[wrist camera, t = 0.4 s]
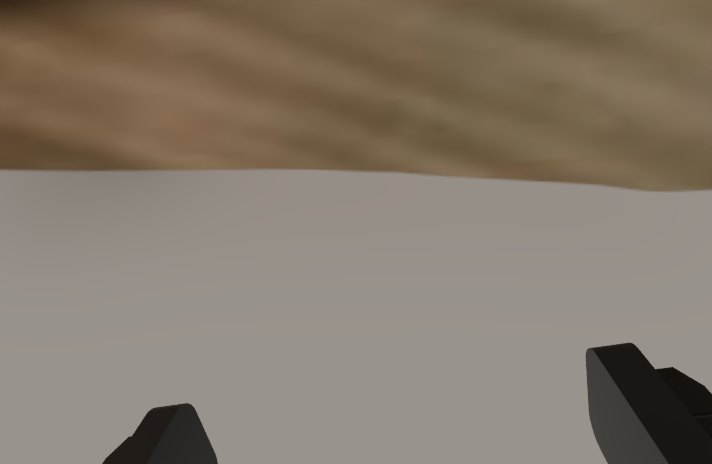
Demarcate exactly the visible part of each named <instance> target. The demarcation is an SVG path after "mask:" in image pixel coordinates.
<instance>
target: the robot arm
mask: <svg viewBox="0 0 712 464" xmlns="http://www.w3.org/2000/svg"><path fill="white" fill-rule="evenodd" d="M586 369H587V386H588V403H589V415H590V420H591V424H592V428H593V431H594V435H595V438H596V440H597V443H598V445H599V447H600V449H601V451H602V453H603V455H604V457H605V459H606V461H607V462H608V464H712V394H711V393H710V392H709V391H708V390H707V388H706V387H705V386H704V385H702V384H700V383H698V382H697V381H695V380H693V379H692V378H690V377H688V376H687V375H685V374H683V373H682V372H680V371H678V370H677V369H675V368H673V367H671V368H663V369H654V367H653V366H652V365H651V364H650V363H649V361H648V360H647V359H646V358H645V356H644V355H643V354H642V353H641V351H640V350H639V349H638V348H637V347H636V346H635V345H634V344H632V343H624V344H617V345H610V346H602V347H595V348H589V349H587V352H586ZM103 464H218V463H217V458H216V455H215V452H214V450H213V448H212V446H211V443H210V441H209V439H208V437H207V435H206V432H205V430H204V428H203V426H202V423H201V421H200V419H199V417H198V415H197V412H196V410H195V408H194V407H193V406H192V405H191V404H187V403H186V404H178V405H171V406H164V407H157V408H153V409H151V410H150V411H149V412H148V413H147V414H146V416H145V417H144V419H143V420H142V422H141V424H140V425H139V426H138V428H137V430H136V431H135V433H134V434H133V436H132V437H128V438H127V439H126V440H125V441H124V442H123V443H122V444H121V445H120V446H119V447H118V448H117V449H115V450H114V451H113V452H112V453H111V454H110V455H109V456H108V457H107V458H106V459H105V461H104V462H103Z"/></svg>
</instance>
